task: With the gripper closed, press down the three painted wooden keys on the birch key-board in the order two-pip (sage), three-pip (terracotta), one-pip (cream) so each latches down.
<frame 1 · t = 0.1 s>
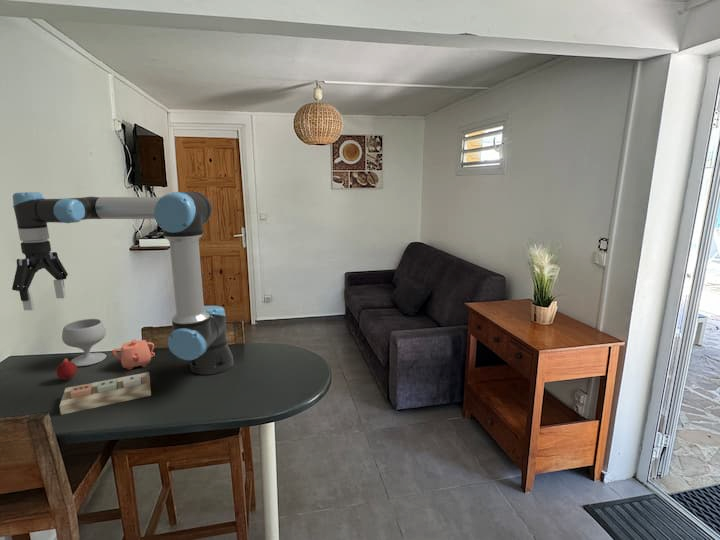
hand: (45, 303, 137), 28 cm above the table, fingers open, 13 cm apart
key three: (81, 392, 129), point 3 cm above the table, slide at 0.0 cm
key two: (107, 387, 132), point 3 cm above the table, slide at 0.0 cm
onion: (68, 380, 143), on the table
chalice: (88, 360, 159), on the table
teapot: (135, 366, 154), on the table
key board: (109, 396, 133), on the table
key one: (132, 382, 135), point 3 cm above the table, slide at 0.0 cm
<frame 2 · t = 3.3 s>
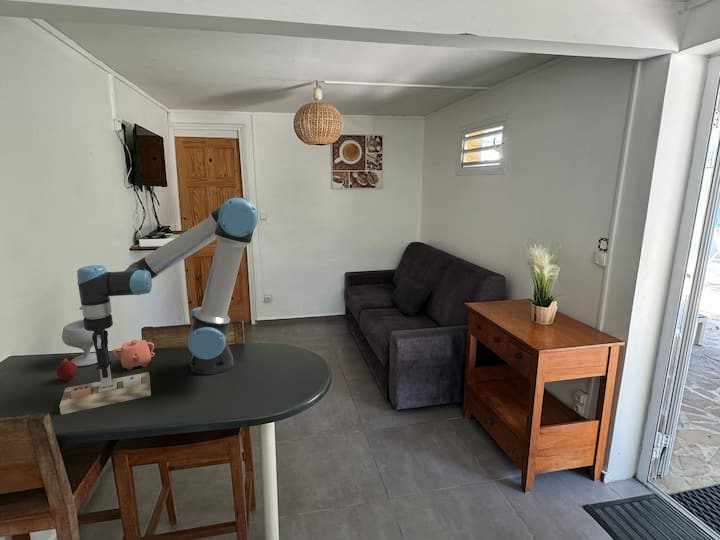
hand: (106, 385, 132), 4 cm above the table, fingers closed
key two: (108, 390, 132), point 2 cm above the table, slide at 1.1 cm, touching gripper
everything else where it was.
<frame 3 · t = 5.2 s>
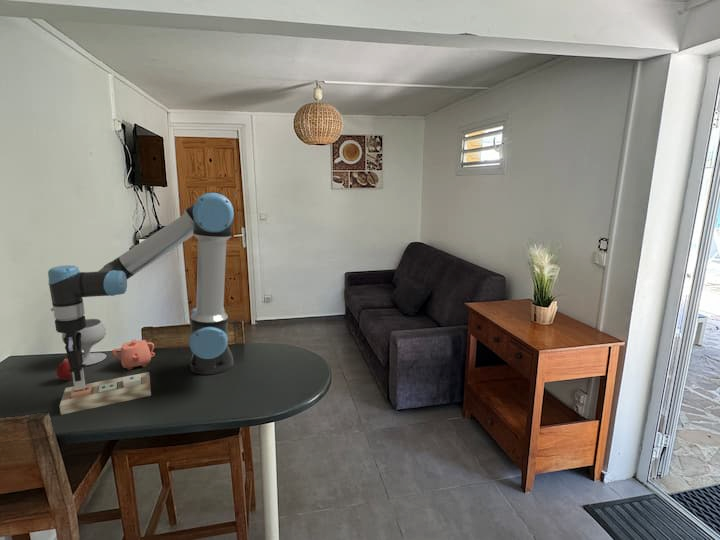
hand: (80, 388, 128), 4 cm above the table, fingers closed
key three: (82, 393, 129), point 3 cm above the table, slide at 0.5 cm, touching gripper
key two: (108, 390, 132), point 2 cm above the table, slide at 1.2 cm
everything else where it was.
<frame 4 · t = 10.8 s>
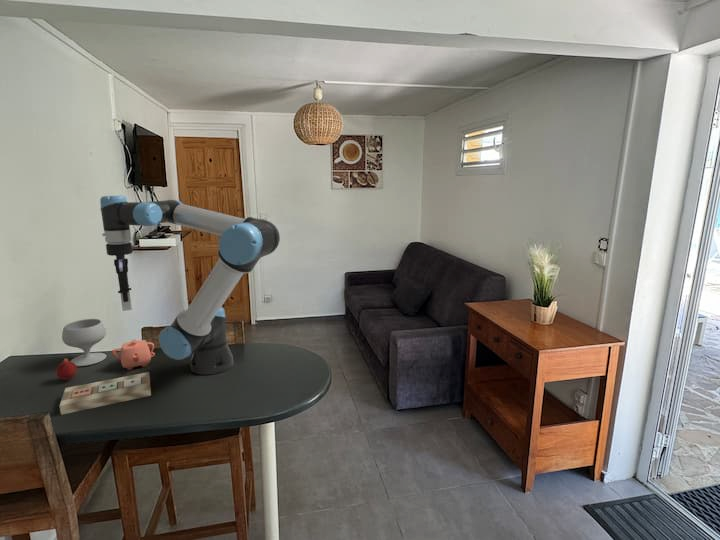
hand: (127, 309, 142), 24 cm above the table, fingers closed
key three: (82, 395, 129), point 2 cm above the table, slide at 1.2 cm
key one: (132, 385, 135), point 2 cm above the table, slide at 1.2 cm
everything else where it was.
at the end: key two slide at 1.2 cm; key three slide at 1.2 cm; key one slide at 1.2 cm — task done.
